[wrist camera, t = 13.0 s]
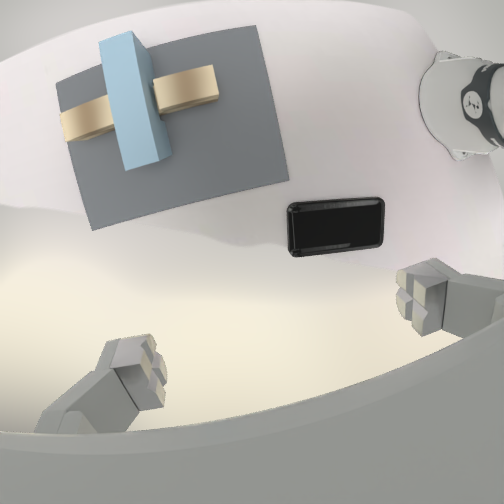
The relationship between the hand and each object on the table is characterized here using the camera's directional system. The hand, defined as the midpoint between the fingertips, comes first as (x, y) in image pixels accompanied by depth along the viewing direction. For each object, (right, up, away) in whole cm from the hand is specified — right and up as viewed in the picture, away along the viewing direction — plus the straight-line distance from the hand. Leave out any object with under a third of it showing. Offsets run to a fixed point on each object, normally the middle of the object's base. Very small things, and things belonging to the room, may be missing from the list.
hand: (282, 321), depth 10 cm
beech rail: (-14, +21, +27) cm, 37 cm away
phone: (+11, +6, +37) cm, 39 cm away
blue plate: (-14, +20, +27) cm, 37 cm away
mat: (-12, +18, +28) cm, 36 cm away
